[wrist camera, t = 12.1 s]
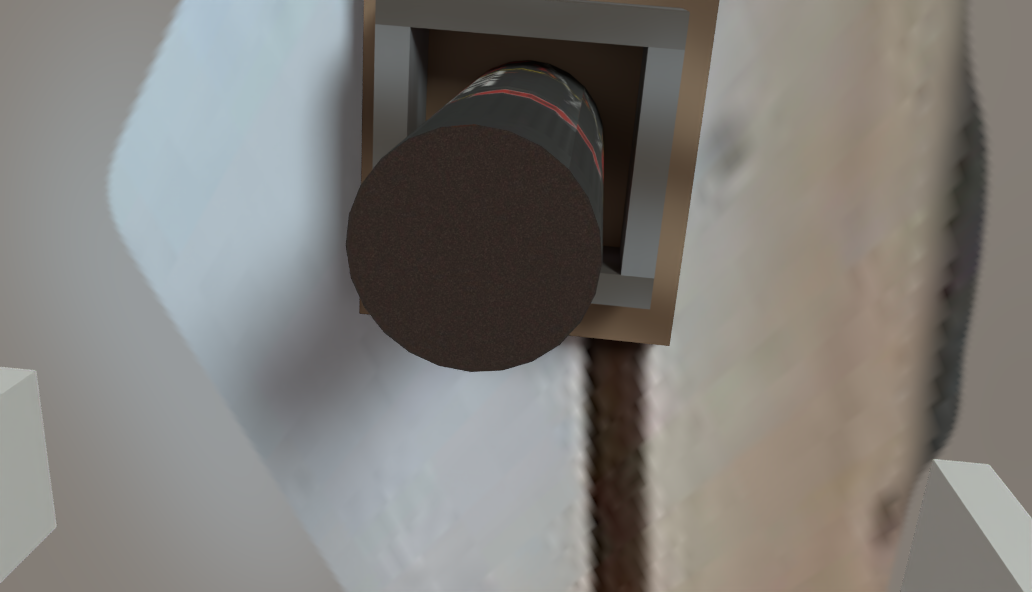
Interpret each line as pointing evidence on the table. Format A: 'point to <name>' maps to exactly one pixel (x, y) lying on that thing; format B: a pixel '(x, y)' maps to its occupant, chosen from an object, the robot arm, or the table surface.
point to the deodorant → (486, 222)
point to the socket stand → (619, 98)
